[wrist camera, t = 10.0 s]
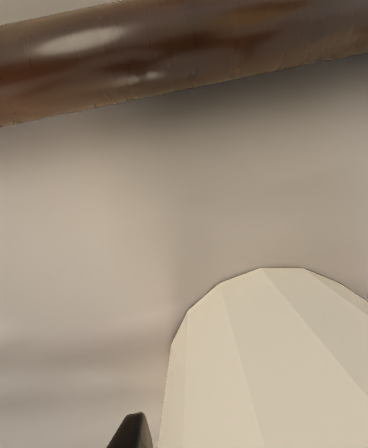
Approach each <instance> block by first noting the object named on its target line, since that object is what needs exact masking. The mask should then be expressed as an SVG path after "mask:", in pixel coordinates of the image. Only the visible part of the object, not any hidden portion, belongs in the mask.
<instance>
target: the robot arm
mask: <svg viewBox="0 0 368 448" xmlns="http://www.w3.org/2000/svg"><path fill="white" fill-rule="evenodd" d="M107 448H153V443H152V438H151V434H150V431H149V427H148V424H147V420H146V417H145V415H144V413H142V412H139V413H134V414H129V415H127V416H126V417H125V418H124V420H123V422H122V423H121V425H120V427H119V428H118V430H117V431H116V433H115V435H114V436H113V438H112V440H111V441H110V443H109V444H108V446H107Z"/></svg>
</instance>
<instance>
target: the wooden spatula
mask: <svg viewBox="0 0 368 448" xmlns="http://www.w3.org/2000/svg"><path fill="white" fill-rule="evenodd" d="M366 52H368V0H122V1H117V2H112V3H107V4H103V5H98V6H93V7H88V8H83V9H78V10H73V11H69V12H64V13H59V14H54V15H49V16H44V17H40V18H35V19H30V20H25V21H20V22H15V23H11V24H6V25H1V26H0V127H3V126H8V125H13V124H18V123H22V122H27V121H32V120H37V119H42V118H47V117H52V116H57V115H62V114H67V113H72V112H76V111H81V110H86V109H91V108H96V107H101V106H106V105H111V104H116V103H121V102H125V101H130V100H135V99H140V98H145V97H150V96H155V95H160V94H165V93H170V92H175V91H179V90H184V89H189V88H194V87H199V86H204V85H209V84H214V83H219V82H224V81H228V80H233V79H238V78H243V77H248V76H253V75H258V74H263V73H268V72H273V71H277V70H282V69H287V68H292V67H297V66H302V65H307V64H312V63H317V62H322V61H327V60H331V59H336V58H341V57H346V56H351V55H356V54H361V53H366Z"/></svg>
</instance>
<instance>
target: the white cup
mask: <svg viewBox="0 0 368 448" xmlns="http://www.w3.org/2000/svg"><path fill="white" fill-rule="evenodd" d="M157 448H368V302H367V301H366V300H364V299H363V298H361V297H360V296H358V295H357V294H355V293H353V292H352V291H350V290H349V289H347V288H346V287H344V286H343V285H341V284H340V283H338V282H335V281H333V280H330V279H328V278H326V277H323V276H321V275H318V274H316V273H314V272H311V271H309V270H306V269H304V268H258V269H256V270H253V271H250V272H248V273H245V274H242V275H240V276H237V277H234V278H232V279H229V280H226V281H224V282H221V283H219V284H218V285H216V286H215V287H214V288H213V289H212V290H211V291H210V292H208V293H207V294H206V295H205V296H204V297H203V298H202V299H200V300H199V301H198V302H197V303H196V304H195V305H194V306H192V307H191V308H190V309H189V310H188V311H187V313H186V315H185V317H184V319H183V321H182V323H181V326H180V328H179V330H178V332H177V334H176V336H175V338H174V340H173V342H172V344H171V349H170V357H169V364H168V372H167V379H166V387H165V394H164V402H163V409H162V417H161V425H160V432H159V440H158V447H157Z"/></svg>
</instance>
